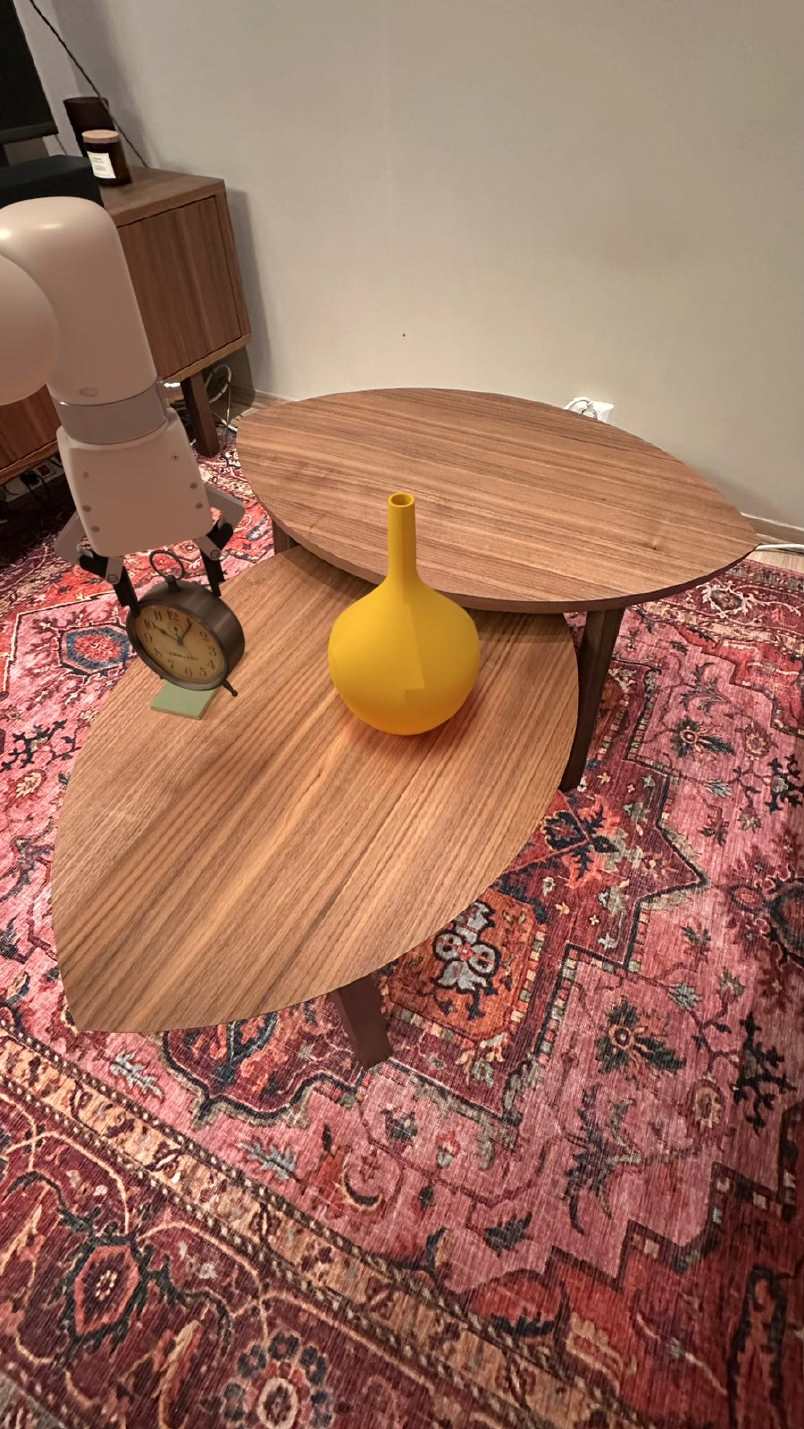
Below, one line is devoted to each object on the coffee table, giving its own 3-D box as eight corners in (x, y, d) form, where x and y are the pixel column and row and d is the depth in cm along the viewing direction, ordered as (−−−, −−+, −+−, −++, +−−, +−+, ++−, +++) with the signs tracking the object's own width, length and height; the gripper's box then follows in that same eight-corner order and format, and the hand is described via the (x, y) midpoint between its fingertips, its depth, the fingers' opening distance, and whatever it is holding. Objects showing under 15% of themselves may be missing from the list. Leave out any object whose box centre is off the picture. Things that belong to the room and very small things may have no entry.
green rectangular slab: (199, 720, 88) (198, 716, 87) (151, 709, 89) (149, 705, 88) (242, 652, 96) (241, 648, 95) (197, 643, 97) (195, 639, 97)
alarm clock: (143, 686, 72) (91, 555, 59) (170, 652, 75) (126, 523, 63) (238, 710, 69) (204, 579, 57) (261, 674, 73) (233, 544, 61)
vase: (306, 726, 87) (268, 521, 64) (380, 639, 97) (369, 437, 75) (434, 783, 81) (441, 579, 58) (498, 684, 91) (525, 479, 69)
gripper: (218, 369, 55) (256, 554, 68) (-14, 408, 51) (76, 598, 64) (239, 408, 50) (276, 599, 64) (-14, 455, 46) (83, 649, 60)
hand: (175, 597), depth 64 cm, fingers closed on alarm clock, 6 cm apart
